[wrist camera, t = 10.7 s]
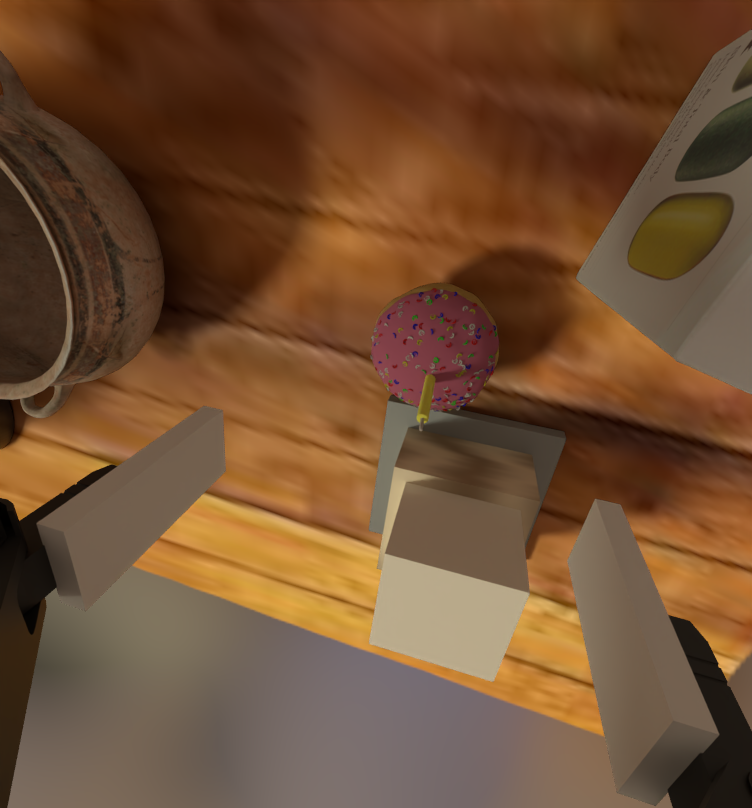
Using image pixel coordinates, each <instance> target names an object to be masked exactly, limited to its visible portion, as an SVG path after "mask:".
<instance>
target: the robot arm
mask: <svg viewBox="0 0 752 808" xmlns="http://www.w3.org/2000/svg"><path fill="white" fill-rule="evenodd" d="M13 429H14V420H13V414H12V410H11V406H10V403H9V401H8V399H0V449H2V448H4V447H5V446H6V445H7V444H8V443H9V441H10V440H11V438H12V435H13ZM225 471H226V467H225V446H224V425H223V410H220V409H216V408H211V407H207V406H203V407H202V408H200V409H199V410H197V411H196V412H195V413H193V414H192V415H190V416H189V417H187V418H186V419H185V420H183V421H182V422H180V423H179V424H177V425H176V426H175V427H173V428H172V429H170V430H169V431H167V432H166V433H165V434H163V435H162V436H160V437H159V438H157V439H156V440H155V441H153V442H152V443H150V444H149V445H147V446H146V447H145V448H143V449H142V450H140V451H139V452H137V453H136V454H135V455H133V456H132V457H130V458H129V459H127V460H126V461H125V462H123V463H122V464H120V465H119V466H115V465H109V466H107V467H104V468H101V469H99V470H96V471H94V472H92V473H90V474H89V475H87V476H86V477H84V478H83V479H81V480H80V481H78V482H77V484H76V485H75V484H74V485H72V486H71V487H69V488H68V489H66V490H65V492H64V493H60V494H59V495H58V496H56V497H55V498H53V499H52V500H50V501H49V502H47V503H46V504H44V505H43V506H41V507H40V508H38V509H37V510H35V511H34V512H32V513H31V514H29V515H28V516H26V517H25V518H23V519H22V520H20V521H19V519H18V516H17V514H16V511H15V508H14V505H13V503H12V502H10V501H9V500H7V499H2V498H0V808H7V806H8V801H9V796H10V791H11V786H12V781H13V776H14V770H15V765H16V760H17V755H18V750H19V745H20V739H21V735H22V729H23V724H24V719H25V714H26V709H27V703H28V699H29V693H30V688H31V684H32V678H33V673H34V668H35V663H36V658H37V653H38V648H39V642H40V638H41V632H42V627H43V622H44V617H45V612H46V600H45V597H46V596H47V595H48V594H49V593H50V592H51V591H53V590H54V589H55V588H57V591H58V594H59V597H60V601H61V603H64V604H66V605H69V606H72V607H75V608H78V609H81V610H84V611H87V610H88V609H89V608H90V606H91V605H93V604H94V603H95V602H96V601H97V599H99V598H100V596H102V595H103V594H104V593H105V591H106V590H108V588H109V587H111V585H112V584H113V583H115V582H116V581H117V579H119V578H120V576H122V575H123V574H124V572H126V571H127V570H128V568H130V567H131V566H132V565H133V564H134V563H135V562H136V561H137V559H138V558H139V557H140V556H141V555H142V554H143V553H144V552H145V551H146V550H147V549H148V548H149V547H150V546H151V545H152V544H153V543H154V542H155V541H156V540H157V539H158V538H159V537H160V536H161V535H162V534H163V533H164V532H165V531H166V530H167V529H168V528H169V527H170V526H171V525H172V524H173V523H174V522H175V521H176V520H177V519H178V518H179V517H180V516H181V515H182V514H183V513H184V512H185V511H186V510H187V509H188V508H189V507H190V506H191V505H192V504H193V503H194V502H195V501H196V500H197V499H198V498H199V497H200V496H201V495H202V494H203V493H204V492H205V491H206V490H207V489H208V488H209V487H210V486H211V485H212V484H213V483H214V482H215V481H216V480H217V479H218V478H219V477H220V476H221V475H222V474H223V473H224V472H225ZM568 566H569V571H570V575H571V580H572V585H573V589H574V594H575V599H576V603H577V608H578V613H579V618H580V622H581V627H582V632H583V636H584V641H585V646H586V651H587V655H588V660H589V665H590V669H591V674H592V679H593V683H594V688H595V693H596V698H597V702H598V707H599V712H600V716H601V721H602V726H603V730H604V735H605V740H606V745H607V749H608V754H609V759H610V763H611V768H612V773H613V777H614V782H615V787H616V792H617V793H619V794H622V795H625V796H628V797H631V798H634V799H637V800H640V801H642V802H645V803H648V804H651V805H654V806H656V805H657V804H658V803H659V802H660V801H661V799H662V798H663V797H664V796H665V795H666V794H667V793H669V796H670V800H671V803H672V806H673V808H752V731H751V729H750V727H749V725H748V723H747V721H746V719H745V717H744V715H743V713H742V711H741V708H740V706H739V705H738V702H737V700H736V698H735V696H734V694H733V692H732V690H731V688H730V687H729V686H727V680H726V678H725V676H724V674H723V672H722V670H721V668H719V667H718V662H717V660H716V658H715V656H714V654H713V652H712V650H711V648H710V646H709V644H708V642H707V641H706V639H705V638H704V637H703V636H702V635H701V634H700V633H699V631H698V630H697V629H696V628H695V627H694V626H693V624H692V623H691V622H690V621H688V620H684V619H681V618H677V617H673V616H670V615H668V614H667V611H666V609H665V607H664V604H663V602H662V600H661V597H660V595H659V593H658V590H657V588H656V586H655V583H654V581H653V579H652V577H651V574H650V572H649V570H648V567H647V565H646V563H645V560H644V558H643V556H642V553H641V551H640V549H639V546H638V544H637V542H636V539H635V537H634V535H633V532H632V530H631V528H630V525H629V523H628V521H627V518H626V516H625V514H624V511H623V509H622V507H621V505H620V504H616V503H612V502H608V501H603V500H599V499H595V500H594V502H593V505H592V507H591V509H590V511H589V514H588V516H587V518H586V520H585V523H584V525H583V527H582V529H581V532H580V534H579V536H578V538H577V540H576V543H575V545H574V547H573V549H572V552H571V554H570V556H569V558H568Z"/></svg>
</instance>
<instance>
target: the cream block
mask: <svg viewBox="0 0 752 808" xmlns="http://www.w3.org/2000/svg"><path fill="white" fill-rule="evenodd" d="M529 594H530V591H529V581H528V572H527V563H526V554H525V545H524V535H523V526H522V517H521V510H518V509H514V508H510V507H505V506H501V505H497V504H493V503H489V502H485V501H481V500H477V499H473V498H469V497H464V496H460V495H456V494H452V493H448V492H444V491H440V490H436V489H432V488H428V487H423V486H419V485H415V484H411V483H407V482H406V483H405V487H404V490H403V494H402V497H401V500H400V504H399V507H398V511H397V514H396V517H395V521H394V524H393V528H392V531H391V534H390V538H389V541H388V545H387V548H386V552H385V556H384V561H383V567H382V573H381V578H380V584H379V589H378V595H377V601H376V606H375V612H374V617H373V623H372V629H371V634H370V640H369V644H372V645H375V646H378V647H382V648H385V649H388V650H391V651H394V652H398V653H401V654H404V655H407V656H411V657H414V658H417V659H420V660H424V661H427V662H430V663H433V664H437V665H440V666H443V667H446V668H450V669H453V670H456V671H459V672H463V673H466V674H469V675H472V676H476V677H479V678H482V679H485V680H489V681H492V682H493V681H494V679H495V676H496V674H497V672H498V669H499V667H500V664H501V662H502V659H503V657H504V655H505V652H506V650H507V647H508V645H509V642H510V640H511V638H512V635H513V633H514V630H515V628H516V625H517V623H518V621H519V618H520V616H521V613H522V611H523V608H524V606H525V604H526V601H527V599H528V596H529Z"/></svg>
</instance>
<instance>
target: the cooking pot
mask: <svg viewBox="0 0 752 808" xmlns="http://www.w3.org/2000/svg"><path fill="white" fill-rule="evenodd" d="M0 81H1V84H2V88H3V94H4V96H3V95H0V399H10V400H14V399H20V401H21V406H22V408H23V410H24V411H25V412H26V413H27V414H29V415H30V416H33V417H36V418H45V417H49V416H51V415H53V414H54V413H56V412H57V411H58V410H59V409H60V408H61V407H62V406H63V405H64V403H65V402H66V400H67V399H68V397H69V395H70V393H71V391H72V389H73V387H74V385H75V383H81V382H87V381H92V380H96V379H98V378H101V377H103V376H105V375H108V374H110V373H112V372H114V371H116V370H118V369H120V368H121V367H123V366H124V365H125V364H126V363H128V362H129V361H130V360H132V359H133V358H134V357H135V356H136V355H137V354H138V353H139V351H140V350H141V349H142V348H143V346H144V345H145V344H146V342H147V341H148V340H149V338H150V337H151V335H152V333H153V331H154V328H155V326H156V324H157V322H158V320H159V317H160V313H161V309H162V304H163V300H164V285H165V276H164V266H163V257H162V253H161V249H160V245H159V241H158V237H157V234H156V232H155V229H154V227H153V224H152V222H151V219H150V216H149V214H148V213H147V211H146V209H145V207H144V205H143V203H142V201H141V200H140V198H139V196H138V194H137V192H136V191H135V190H134V188H133V187H132V185H131V184H130V183H129V181H128V180H127V178H126V177H125V176H124V174H123V173H122V172H121V171H120V169H119V168H118V167H117V166H116V165H115V164H114V163H113V162H112V161H111V160H110V159H109V158H108V157H107V155H106V154H105V153H104V152H103V151H102V150H101V149H99V148H98V147H97V146H96V145H95V144H93V143H92V142H91V141H90V140H88V139H87V138H86V137H85V136H83V135H82V134H81V133H80V132H79V131H77V130H76V129H75V128H73V127H72V126H70V125H69V124H67V123H65V122H64V121H62V120H60V119H58V118H57V117H55V116H53V115H51V114H50V113H48V112H46V111H44V110H43V109H41V108H39V107H37V106H36V104H35V103H34V101H33V100H32V98H31V97H30V95H29V94H28V92H27V90H26V89H25V87H24V85H23V83H22V82H21V80H20V78H19V76H18V74H17V73H16V71H15V69H14V68H13V66H12V65H11V63H10V62H9V61H8V59H7V58H6V57H5V56H4V54H3V53H2V52H1V51H0ZM48 386H54V387H55V392H54V395H53V397H52V399H51V400H50V402H49V403H48V404H47V405H46V406H45V407H43V408H41V407H38V406H36V405H35V402H34V395H35V394H37V393H39V392H42V391H44V390H45V389H46V388H47V387H48Z"/></svg>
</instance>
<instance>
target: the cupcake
mask: <svg viewBox="0 0 752 808" xmlns="http://www.w3.org/2000/svg"><path fill="white" fill-rule="evenodd" d="M371 339H372V341H373V343H372V355H371V356H370V357H371V359H372V360H373V363H374V366H375V369H376V370H377V372H378V374H379V376H380V377H381V379H382V381H383V383H384V384H385V387H387V390H388V391H389V390H390V391H391V392H392V393H393V394H394V395H395V396H396V397H398V398H399V399H400V400H401V401H403V402H406V403H407V404H411V405H413V406H414V407H415V408H419V409H418V413H417V421H418V422H419V423H420V426H419V430H420V431H422V430H423V425H424V423H426V422H427V421H428V419H429V413H430V409H431V410H433V411H434V412H436V411H438V410H439V411H440V410H441V411H440V412H443V410H444V411H447V410H452V409H454V408H455V409H456V410H459V409H460V406H465V405H466V404H467V403H469V402H472V401H474V399H475V398H476V397H477V395H478V394H479V392H480V391H481V389H482V388H483V387H484V386H485V384H486V383H487V381H488V380H489V378H490V377H491V375H492V374H493V372H494V369H495V367H496V365H497V362H498V357H499V338H498V334H497V325H496V323H495V321H494V319H493V318H492V316H491V315H490V313H489V312H488V311H487V309H486V308H485V306H484V305H483V303H482V302H481V301H480V299H479V298H478V297H477V296H475V295H474V294H472V293H470V292H468V291H465V290H463V289H461V288H459V287H457V286H455V285H452V284H448V283H432V284H427V285H423V286H420V287H417V288H415V289H413V290H411V291H409V292H407V293H405V294H403V295H401V296H400V297H397V298H395V299H393V300H392V301H391V302H390V303H389V304H388V305H387V306H386V307H385V308H384V309H383V310H382V312H381V313H380V315H379V316H378V318H377V321H376V325H375V329H374V335H373V336H372V337H371ZM457 407H459V409H458V408H457Z"/></svg>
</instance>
